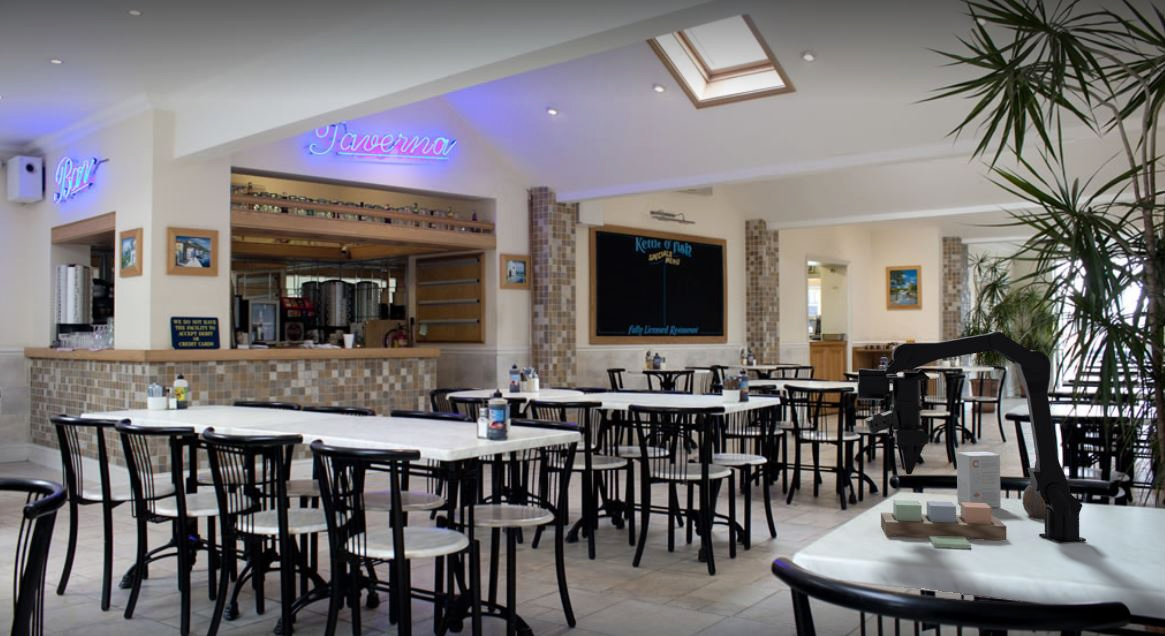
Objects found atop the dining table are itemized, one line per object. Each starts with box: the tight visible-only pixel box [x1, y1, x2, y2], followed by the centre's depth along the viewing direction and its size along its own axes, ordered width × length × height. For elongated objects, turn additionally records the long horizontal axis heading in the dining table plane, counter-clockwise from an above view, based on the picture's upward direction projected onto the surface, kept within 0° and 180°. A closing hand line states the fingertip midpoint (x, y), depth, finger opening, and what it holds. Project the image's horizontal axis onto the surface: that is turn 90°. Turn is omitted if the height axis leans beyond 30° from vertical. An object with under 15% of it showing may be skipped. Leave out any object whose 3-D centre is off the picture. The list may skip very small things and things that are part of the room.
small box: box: [956, 451, 1002, 509], centre depth 229 cm, size 8×6×13 cm
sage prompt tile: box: [928, 536, 972, 549], centre depth 191 cm, size 7×7×1 cm
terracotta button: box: [960, 502, 992, 524], centre depth 199 cm, size 5×5×4 cm
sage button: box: [892, 499, 923, 521], centre depth 202 cm, size 5×5×4 cm
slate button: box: [926, 500, 957, 523], centre depth 200 cm, size 5×5×4 cm
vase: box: [1022, 483, 1048, 519], centre depth 217 cm, size 7×7×9 cm
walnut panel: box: [880, 512, 1007, 541], centre depth 200 cm, size 24×10×3 cm, turn 78°
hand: (906, 471), depth 202 cm, fingers open, 6 cm apart
